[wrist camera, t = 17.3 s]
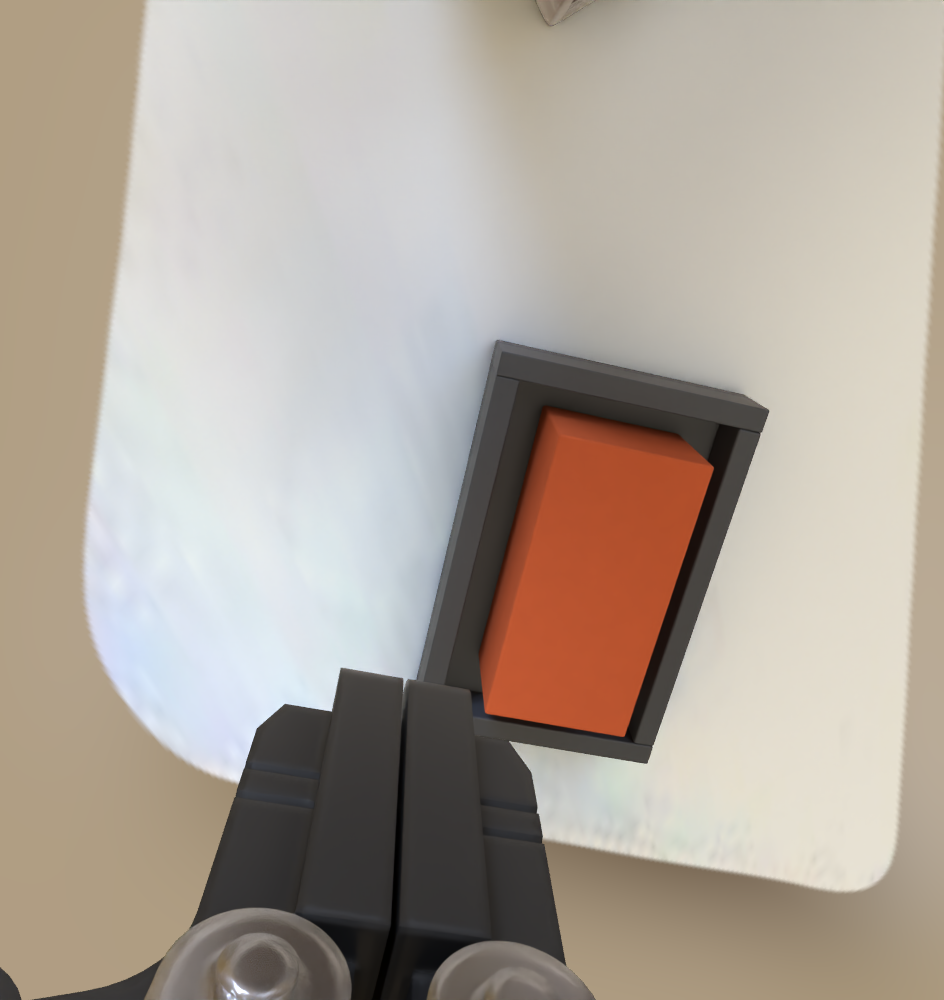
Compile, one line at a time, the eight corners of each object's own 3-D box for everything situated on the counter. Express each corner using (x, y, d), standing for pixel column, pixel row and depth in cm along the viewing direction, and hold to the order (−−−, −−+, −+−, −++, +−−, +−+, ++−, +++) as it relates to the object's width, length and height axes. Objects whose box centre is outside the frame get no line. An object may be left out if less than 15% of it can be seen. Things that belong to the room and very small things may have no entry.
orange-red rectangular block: (542, 404, 30) (559, 433, 26) (679, 433, 30) (715, 467, 26) (477, 655, 33) (484, 714, 29) (602, 677, 33) (625, 738, 29)
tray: (496, 339, 29) (502, 350, 27) (744, 394, 30) (770, 410, 28) (413, 690, 34) (412, 725, 31) (633, 728, 35) (647, 764, 33)
